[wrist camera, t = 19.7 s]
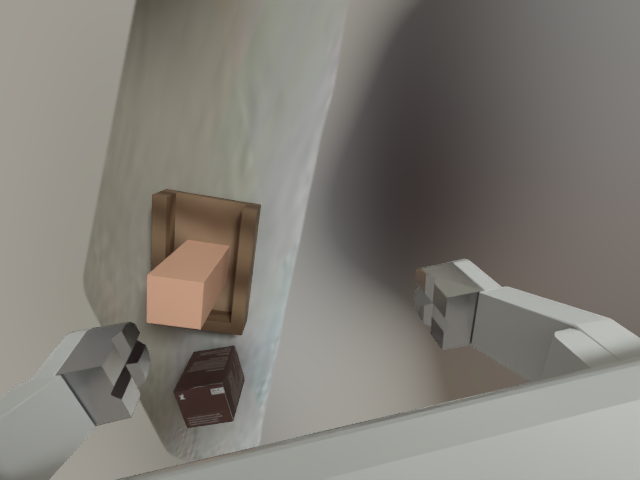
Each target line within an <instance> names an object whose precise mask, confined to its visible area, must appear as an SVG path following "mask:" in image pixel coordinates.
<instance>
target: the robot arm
mask: <svg viewBox="0 0 640 480" xmlns="http://www.w3.org/2000/svg"><path fill="white" fill-rule="evenodd" d="M415 281H416V283H418V285H419V287H418V289H417V290H416V292H415V306H416V310H417V313H418V315H419V317H420V318H421V320H422V322H423V323H424V324H426V325H429V326H431V335H432V336H433V338H434V339H435V341H436V342H437V343H438V345H439V346H440V347H441V349H442V350H445V349H451V348H456V347H461V346H466V345H471V346H472V347H473V348H475V349H477V350H478V351H480V352H482V353H483V354H485V355H487V356H488V357H490V358H492V359H493V360H495V361H497V362H498V363H500V364H502V365H503V366H505V367H507V368H508V369H510V370H512V371H513V372H515V373H517V374H519V375H520V376H522V377H523V378H525V379H527V380H528V381H530V383H526V384H522V385H517V386H513V387H509V388H505V389H500V390H496V391H492V392H487V393H483V394H479V395H475V396H471V397H467V398H462V399H458V400H454V401H449V402H445V403H441V404H436V405H432V406H428V407H424V408H420V409H415V410H411V411H407V412H402V413H399V414H394V415H389V416H386V417H381V418H377V419H372V420H368V421H364V422H360V423H355V424H351V425H347V426H343V427H338V428H335V429H330V430H326V431H322V432H317V433H313V434H309V435H304V436H300V437H296V438H292V439H288V440H283V441H279V442H275V443H271V444H266V445H262V446H258V447H253V448H249V449H245V450H241V451H236V452H232V453H228V454H223V455H219V456H215V457H211V458H206V459H202V460H198V461H194V462H189V463H185V464H181V465H177V466H173V467H169V468H164V469H160V470H156V471H152V472H147V473H143V474H138V475H134V476H130V477H126V478H121V479H117V480H640V338H639V337H637V336H636V335H634V334H633V333H631V332H630V331H628V330H627V329H625V328H624V327H622V326H621V325H619V324H618V323H616V322H615V321H613V320H612V319H610V318H607V317H603V316H601V315H597V314H594V313H591V312H587V311H585V310H581V309H578V308H575V307H572V306H569V305H565V304H562V303H559V302H556V301H552V300H549V299H546V298H543V297H540V296H536V295H533V294H530V293H527V292H523V291H520V290H517V289H514V288H511V287H501V286H500V285H499V284H497V283H496V282H495V281H494V280H493V279H491V278H490V277H489V276H488V275H486V274H485V273H484V272H483V271H482V270H480V269H479V268H478V267H477V266H475V265H474V264H473V263H472V262H470V261H469V260H467V259H461V260H456V261H452V262H449V263H444V264H439V265H434V266H429V267H424V268H419V269H417V271H416V274H415ZM139 334H140V332H139V330H138V328H137V326H136V325H135V324H134V323H132V322H126V323H120V324H114V325H108V326H102V327H96V328H92V329H84V330H79V331H74V332H71V333H69V334H67V335H66V336H65V337H64V338H63V340H62V341H61V342H60V343H59V345H58V346H57V347H56V349H55V350H54V351H53V352H52V354H51V355H50V356H49V357H48V359H47V360H46V361H45V362H44V364H43V365H42V366H41V367H40V369H39V370H38V371H37V372H36V374H35V375H34V376H33V378H32V379H31V380H30V381H28V382H23V383H21V384H20V385H18V386H17V387H15V388H14V389H12V390H11V391H9V392H8V393H6V394H5V395H3V396H2V397H0V480H49V479H50V478H51V477H52V476H53V475H54V474H55V472H56V471H57V470H58V469H59V468H60V467H61V466H62V465H63V464H64V462H66V460H67V459H68V458H69V457H70V456H71V455H72V454H73V453H74V452H75V451H76V449H77V448H78V447H79V446H80V445H81V444H82V443H83V442H84V441H85V440H86V438H87V437H88V436H89V435H90V434H91V433H92V432H93V431H94V430H95V428H96V426H98V425H102V424H105V423H110V422H114V421H118V420H122V419H127V418H131V417H132V415H133V413H134V410H135V408H136V405H137V403H138V400H139V398H140V395H141V393H140V391H139V390H138V387H139V386H140V385H141V384H143V383H144V382H145V381H146V380H147V377H148V374H149V371H150V355H149V351H148V349H147V347H146V345H145V344H143V343H141V342H140V341H138V340H137V339H138V336H139Z"/></svg>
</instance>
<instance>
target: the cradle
mask: <svg viewBox="0 0 640 480" xmlns="http://www.w3.org/2000/svg"><path fill="white" fill-rule="evenodd" d="M260 208H261V205H259V204H253V203H247V202H241V201H235V200H229V199H223V198H217V197H211V196H205V195H198V194H192V193H186V192H180V191H174V190H168V189H166V190H163V191H160V192H158V193H155V194H153V195H152V258H151V271H152V270H153V269H154V268H156V267H157V266H158V265H159V264H160V263H161V262H163V261H164V260H165V259H166V258H167V257H168V256H169V255H171V254H172V253H173V252H174V251H175V250H176V249H178V248H179V247H180V246H181V245H182V244H183V243H184V242H186V241H187V240H193V241H200V242H206V243H213V244H219V245H226V246H230V250H229V261H228V271H227V282H226V285H225V286H224V288H223V290H222V292H221V294H220V296H219V297H218V299H217V301H216V303H215V305H214V306H213V308H212V310H211V312H210V314H209V315H208V317H207V319H206V321H205V323H204V324H203V326H202V328H201V330H204V331H212V332H220V333H227V334H235V335H242V333H243V330H244V327H245V324H246V321H247V315H248V307H249V299H250V291H251V282H252V274H253V266H254V257H255V249H256V241H257V232H258V224H259V216H260ZM151 324H153V323H151ZM157 325H161V324H157ZM165 326H169V325H165ZM173 327H177V326H173ZM180 328H184V327H180ZM188 329H192V328H188ZM196 330H200V329H196Z"/></svg>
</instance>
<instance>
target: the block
mask: <svg viewBox="0 0 640 480" xmlns="http://www.w3.org/2000/svg"><path fill="white" fill-rule="evenodd" d="M229 250H230V246H226V245H219V244H213V243H206V242H200V241H193V240H187V241H186V242H184V243H183V244H182V245H181V246H180V247H179V248H178V249H176V250H175V251H174V252H173V253H172V254H171V255H169V256H168V257H167V258H166V259H165V260H164V261H163V262H161V263H160V264H159V265H158V266H157V267H156V268H154V269H153V270H152V271H151V272H150V273H149V274H148V275H147V323H153V324H161V325H169V326H177V327H184V328H192V329H200V330H201V328H202V326H203V324H204V323H205V321H206V319H207V317H208V315H209V314H210V312H211V310H212V308H213V306H214V305H215V303H216V301H217V299H218V297H219V296H220V294H221V292H222V290H223V288H224V286H225V285H226V282H227V271H228V261H229Z"/></svg>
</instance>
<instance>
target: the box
mask: <svg viewBox="0 0 640 480" xmlns="http://www.w3.org/2000/svg"><path fill="white" fill-rule="evenodd" d="M243 383H244V375H243V372H242V369H241V365H240V362H239V358H238V354H237V351H236V347H235V346H230V347H224V348H217V349H211V350H205V351H198V352H194V353H193V355H192V357H191V359H190V361H189V363H188V365H187V367H186V368H185V370H184V372H183V374H182V376H181V378H180V380H179V382H178V383H177V386H176V388H175V389H174V394H175V397H176V399H177V402H178V404H179V407H180V410H181V412H182V415H183V418H184V421H185V423H186V426H187V428H191V427H197V426H204V425H211V424H218V423H225V422H232V421H234V416H235V413H236V409H237V405H238V402H239V398H240V394H241V391H242V387H243Z"/></svg>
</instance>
